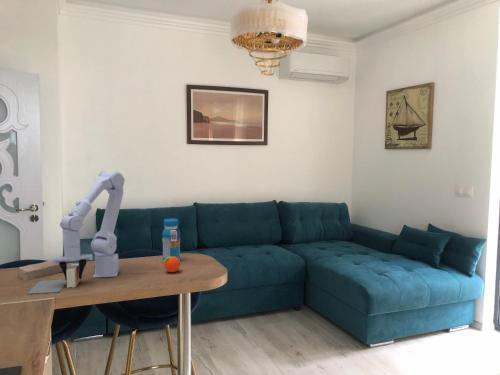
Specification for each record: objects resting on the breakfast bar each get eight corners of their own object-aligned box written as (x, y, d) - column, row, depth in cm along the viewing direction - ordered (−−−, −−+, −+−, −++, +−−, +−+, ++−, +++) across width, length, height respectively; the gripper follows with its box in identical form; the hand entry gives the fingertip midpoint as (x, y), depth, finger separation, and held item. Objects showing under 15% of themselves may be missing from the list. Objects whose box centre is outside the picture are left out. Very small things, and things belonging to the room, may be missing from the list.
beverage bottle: (159, 262, 197) (159, 220, 195) (166, 258, 206) (165, 217, 204) (176, 263, 196) (176, 221, 194) (182, 258, 204) (182, 218, 202)
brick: (25, 281, 170) (25, 270, 169) (17, 277, 175) (16, 266, 175) (65, 272, 183) (65, 261, 182) (56, 268, 188) (56, 258, 187)
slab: (79, 280, 170) (79, 264, 169) (75, 287, 162) (74, 269, 161) (71, 281, 169) (71, 264, 169) (67, 287, 161) (66, 270, 161)
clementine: (167, 275, 177) (167, 259, 176) (159, 272, 182) (158, 256, 181) (183, 272, 182) (183, 256, 182) (175, 268, 187) (174, 253, 187)
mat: (68, 280, 170) (68, 279, 170) (59, 292, 156) (59, 291, 156) (40, 281, 168) (39, 280, 168) (27, 294, 154) (27, 293, 154)
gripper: (90, 241, 171) (91, 274, 172) (51, 245, 164) (52, 279, 165) (92, 245, 165) (93, 278, 166) (52, 249, 158) (53, 284, 159)
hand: (73, 279), depth 165 cm, fingers closed on slab, 4 cm apart
